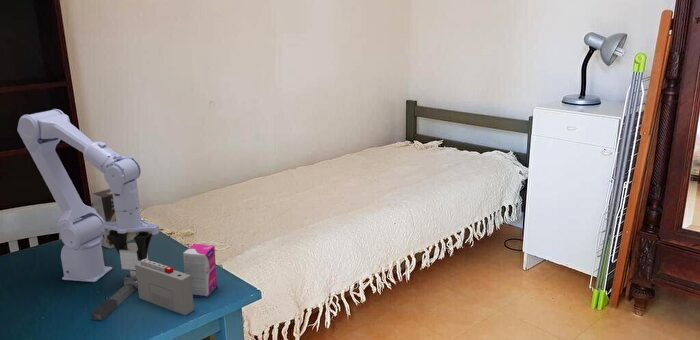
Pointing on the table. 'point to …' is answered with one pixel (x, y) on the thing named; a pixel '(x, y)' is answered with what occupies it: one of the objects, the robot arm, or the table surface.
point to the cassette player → (164, 286)
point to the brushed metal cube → (130, 256)
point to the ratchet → (116, 297)
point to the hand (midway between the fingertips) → (133, 258)
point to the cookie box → (107, 214)
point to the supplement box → (201, 269)
